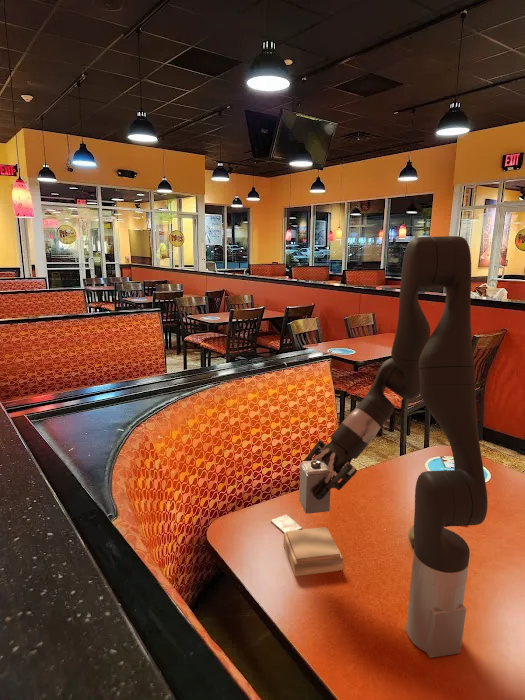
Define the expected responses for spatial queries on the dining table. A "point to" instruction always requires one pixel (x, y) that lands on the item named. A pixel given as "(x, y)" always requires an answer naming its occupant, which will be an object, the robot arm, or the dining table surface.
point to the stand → (312, 551)
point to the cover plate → (286, 524)
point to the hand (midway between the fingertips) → (308, 489)
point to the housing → (313, 486)
